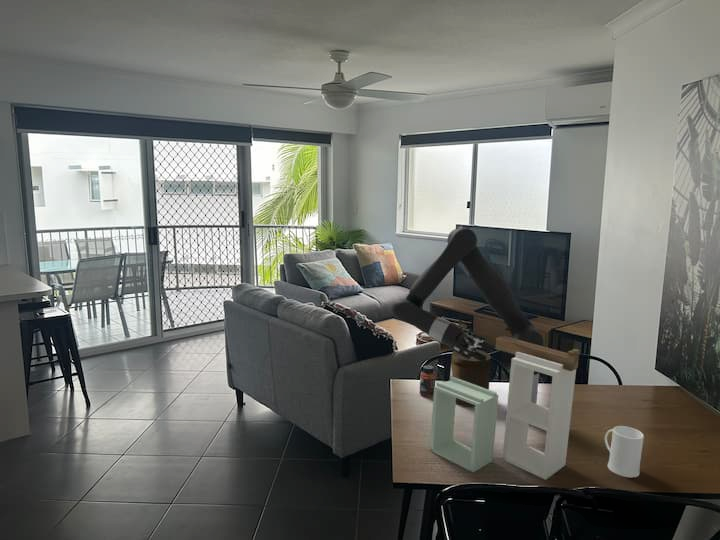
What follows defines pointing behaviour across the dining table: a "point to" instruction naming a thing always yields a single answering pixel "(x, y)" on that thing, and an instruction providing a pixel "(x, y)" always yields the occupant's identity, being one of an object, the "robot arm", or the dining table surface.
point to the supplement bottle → (427, 381)
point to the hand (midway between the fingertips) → (489, 354)
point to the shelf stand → (538, 416)
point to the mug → (625, 451)
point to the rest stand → (481, 428)
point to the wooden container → (471, 372)
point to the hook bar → (539, 352)
